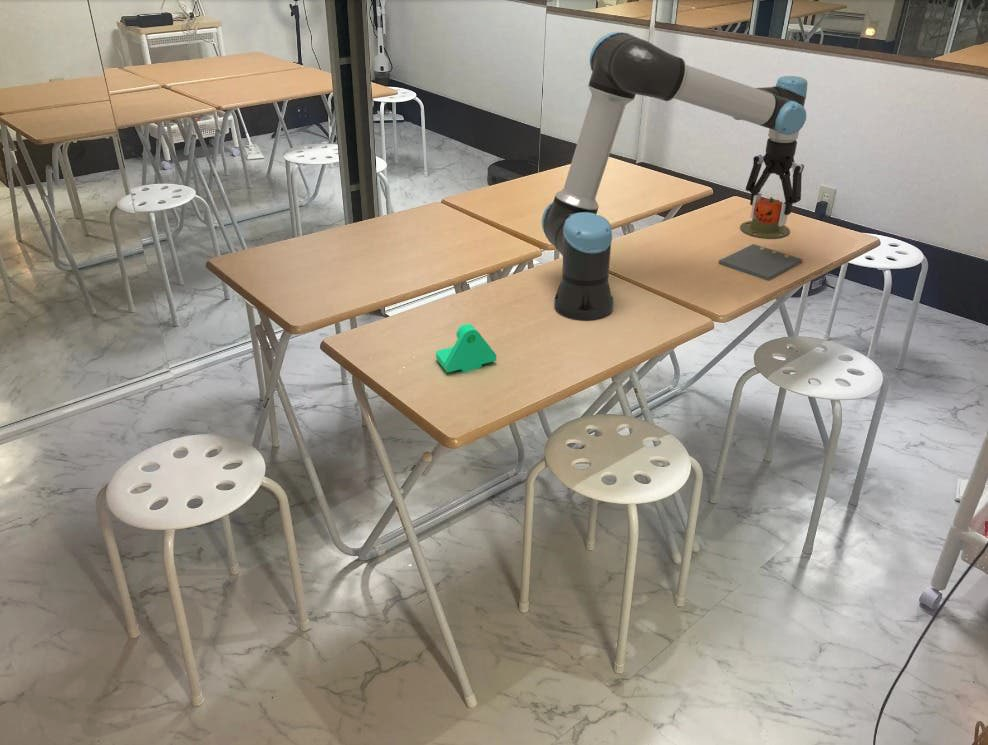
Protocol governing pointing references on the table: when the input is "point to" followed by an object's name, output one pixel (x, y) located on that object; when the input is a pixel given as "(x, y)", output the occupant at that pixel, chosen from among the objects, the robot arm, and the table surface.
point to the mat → (760, 261)
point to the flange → (764, 230)
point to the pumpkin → (768, 211)
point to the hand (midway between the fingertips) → (767, 220)
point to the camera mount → (466, 351)
